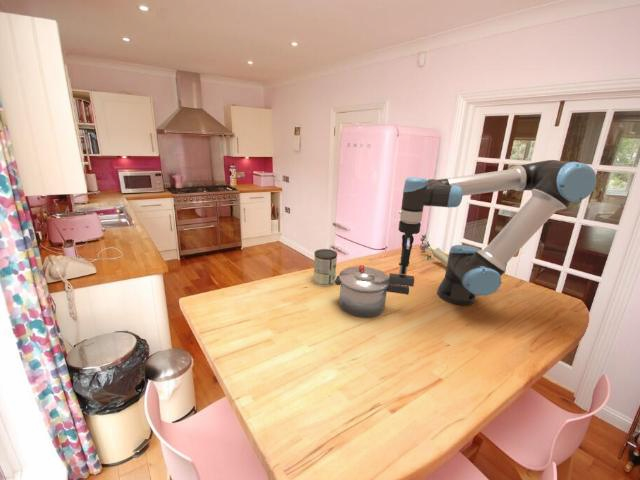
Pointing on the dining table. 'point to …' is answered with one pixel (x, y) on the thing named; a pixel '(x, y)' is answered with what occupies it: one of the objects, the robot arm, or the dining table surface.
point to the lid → (372, 279)
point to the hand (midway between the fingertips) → (401, 279)
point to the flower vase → (436, 253)
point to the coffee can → (325, 267)
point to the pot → (366, 300)
